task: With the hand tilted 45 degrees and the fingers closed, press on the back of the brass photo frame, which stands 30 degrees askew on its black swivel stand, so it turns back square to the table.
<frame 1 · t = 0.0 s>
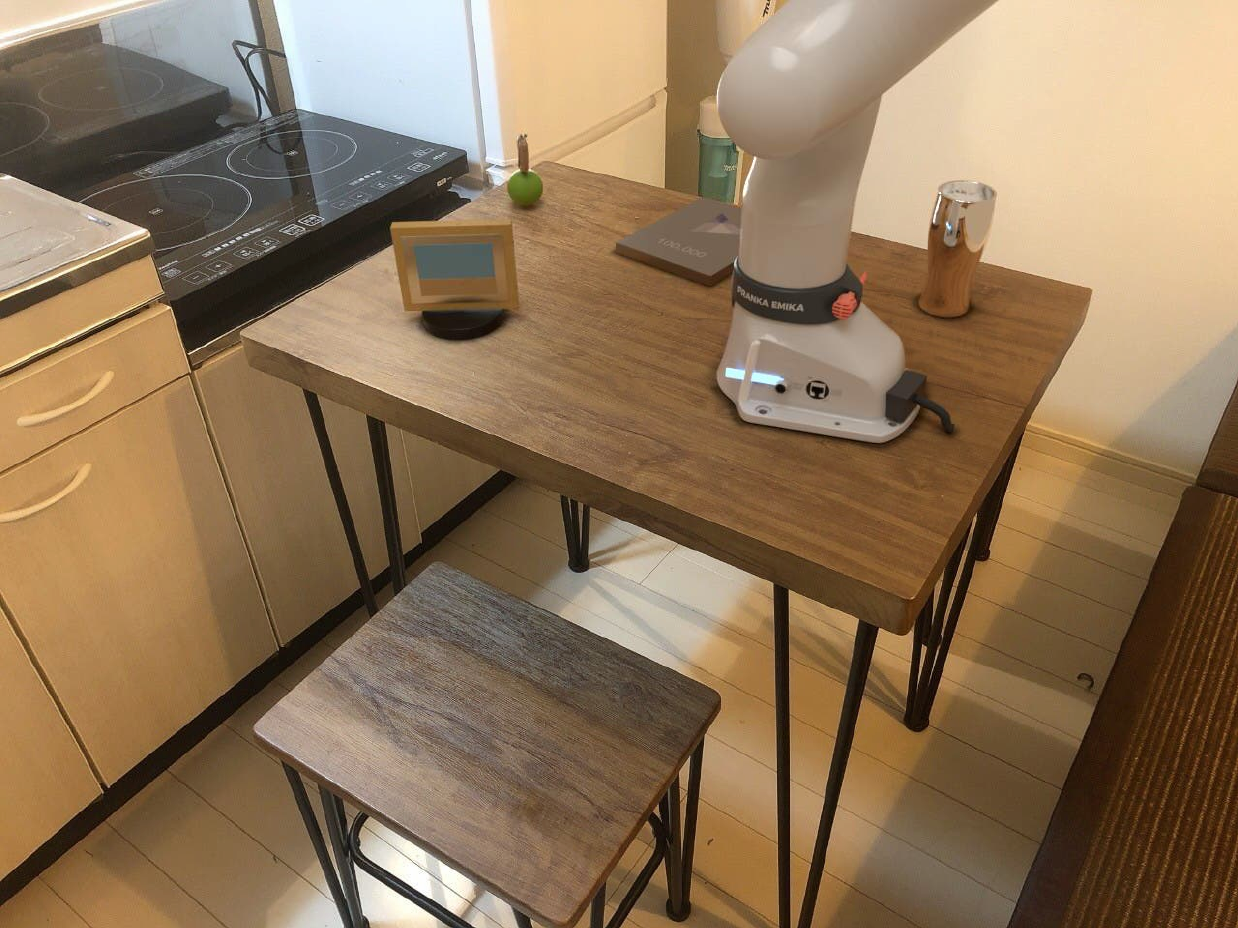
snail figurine: (527, 207, 148), on the table
picture frame: (456, 266, 116), point 7 cm above the table, hinge at 30.0°
frame stand: (463, 319, 121), on the table
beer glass: (942, 307, 121), on the table
play button award: (705, 245, 136), on the table
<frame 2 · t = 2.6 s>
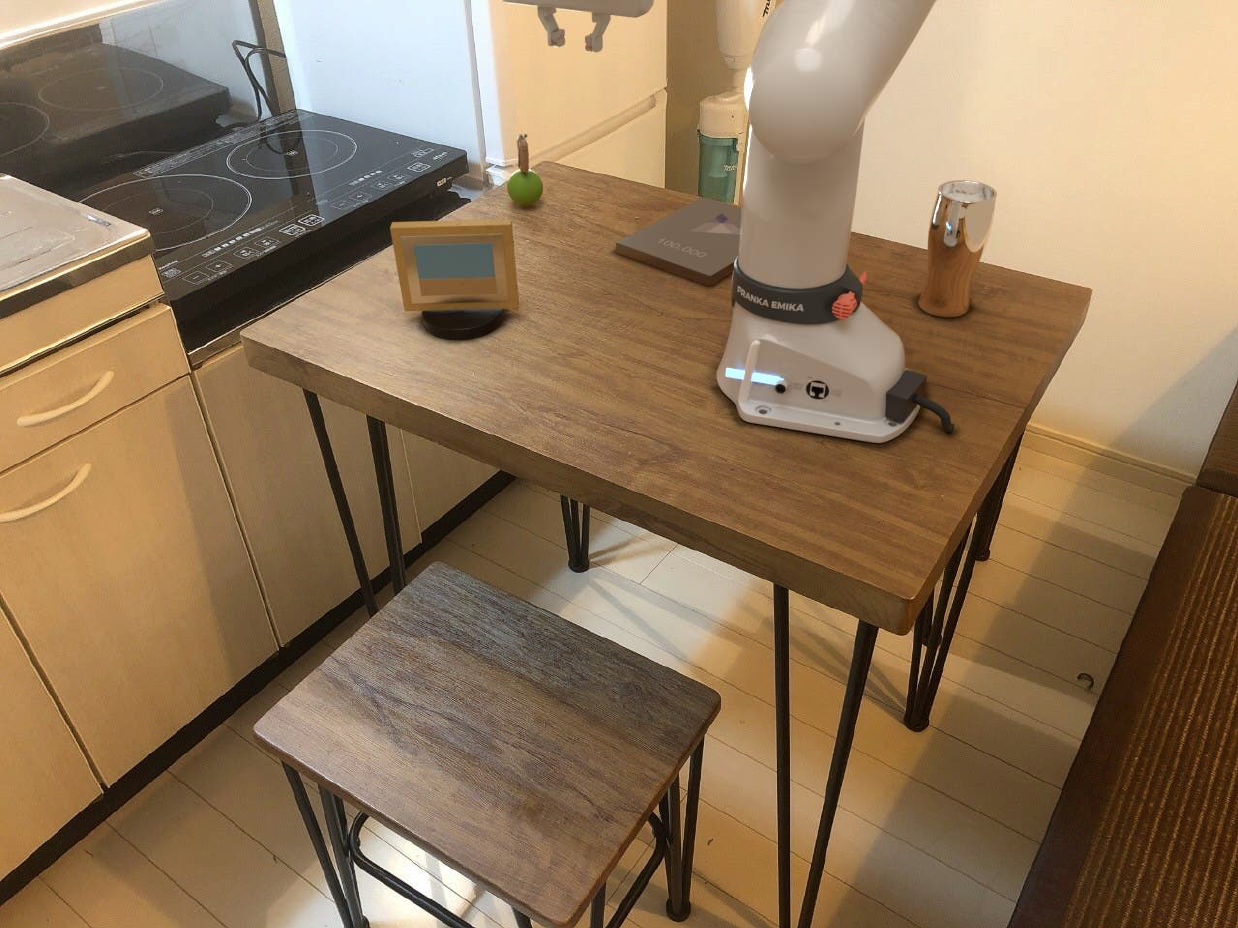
hand: (575, 48, 118), 27 cm above the table, tool pointing down, fingers open, 4 cm apart
nothing on the table moved.
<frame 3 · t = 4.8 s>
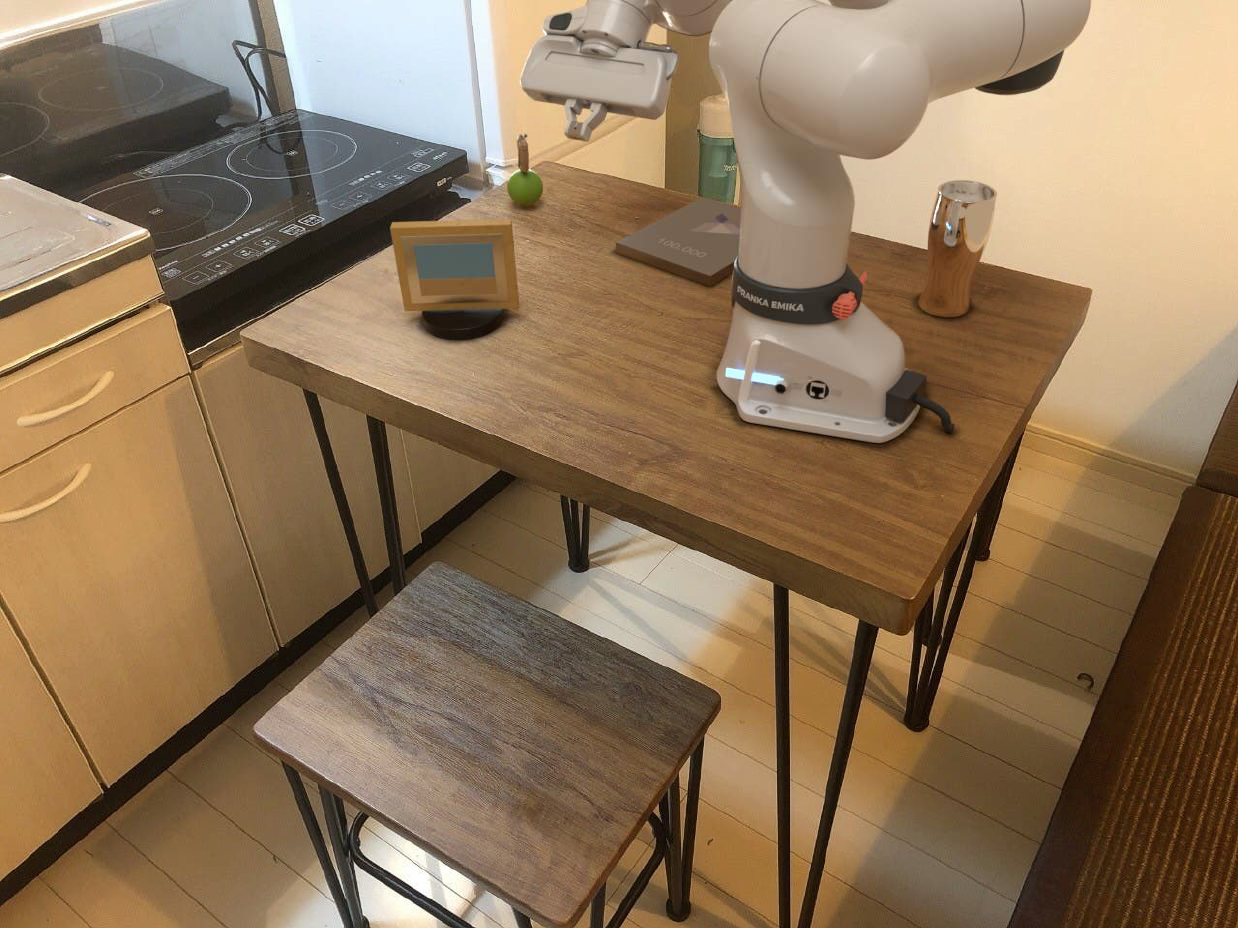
hand: (575, 138, 124), 16 cm above the table, tool tilted 45°, fingers closed
nothing on the table moved.
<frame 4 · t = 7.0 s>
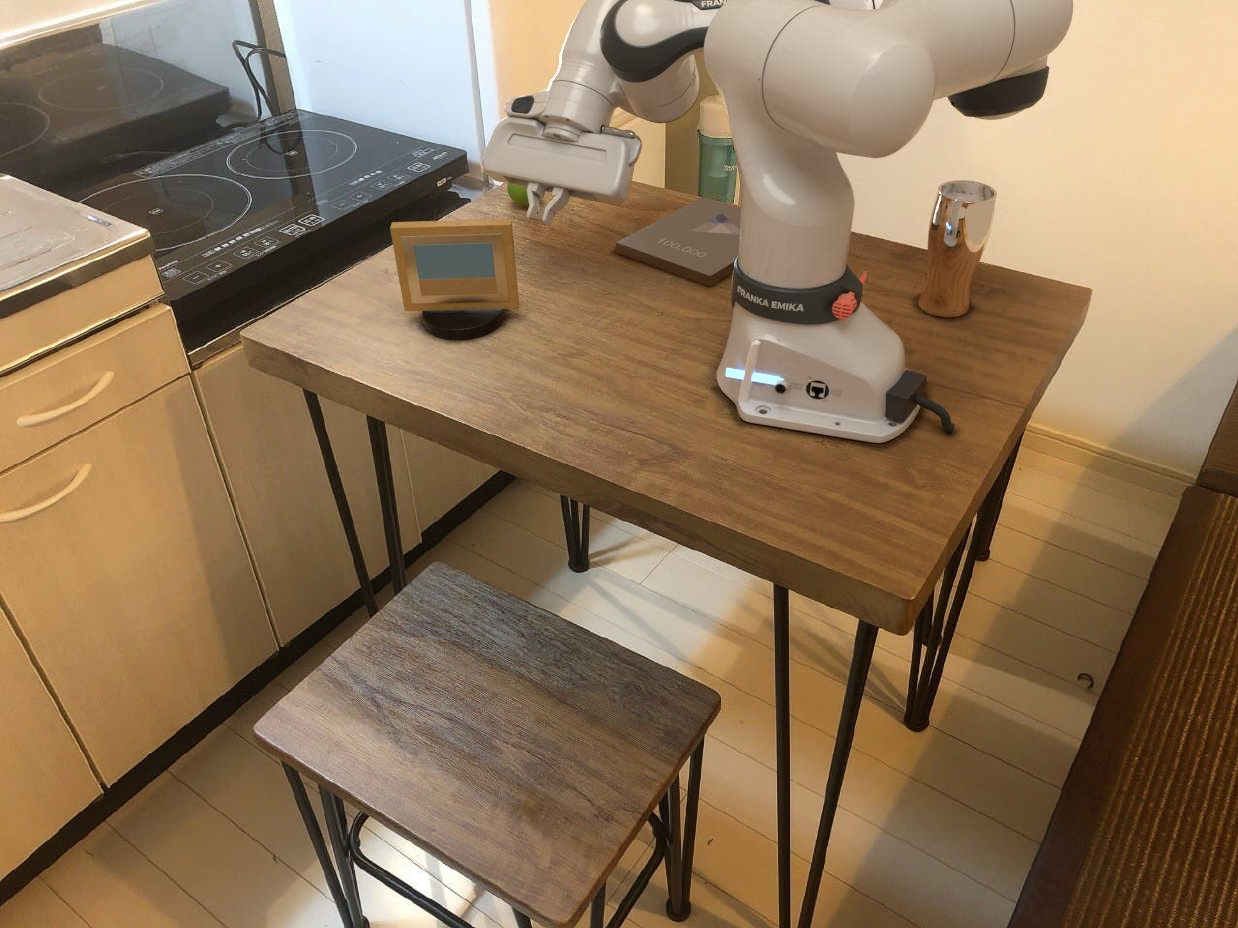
hand: (537, 222, 122), 9 cm above the table, tool tilted 45°, fingers closed
nothing on the table moved.
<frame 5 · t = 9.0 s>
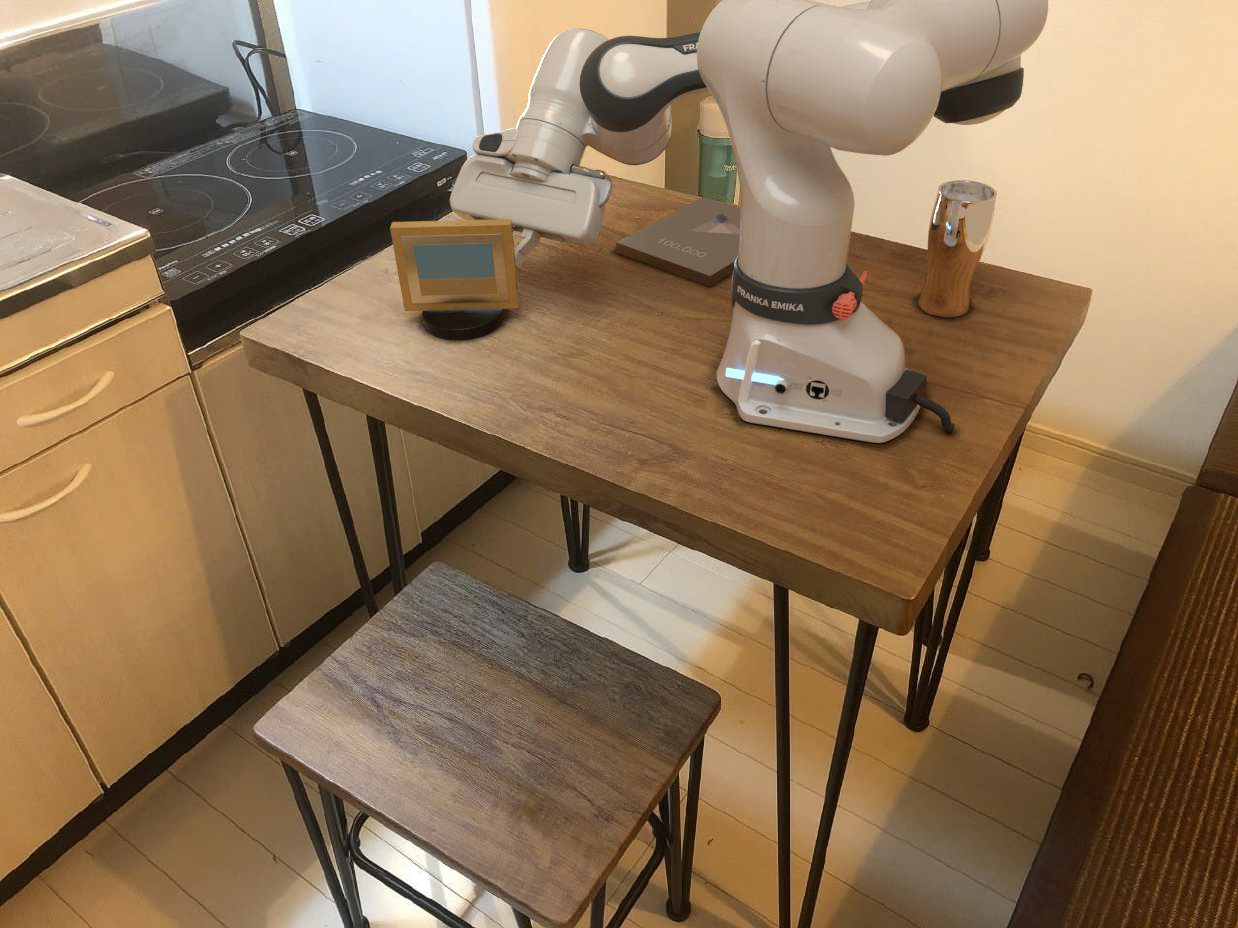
hand: (506, 264, 118), 6 cm above the table, tool tilted 45°, fingers closed
picture frame: (456, 266, 116), point 7 cm above the table, hinge at 29.7°, touching gripper
everything else where it was.
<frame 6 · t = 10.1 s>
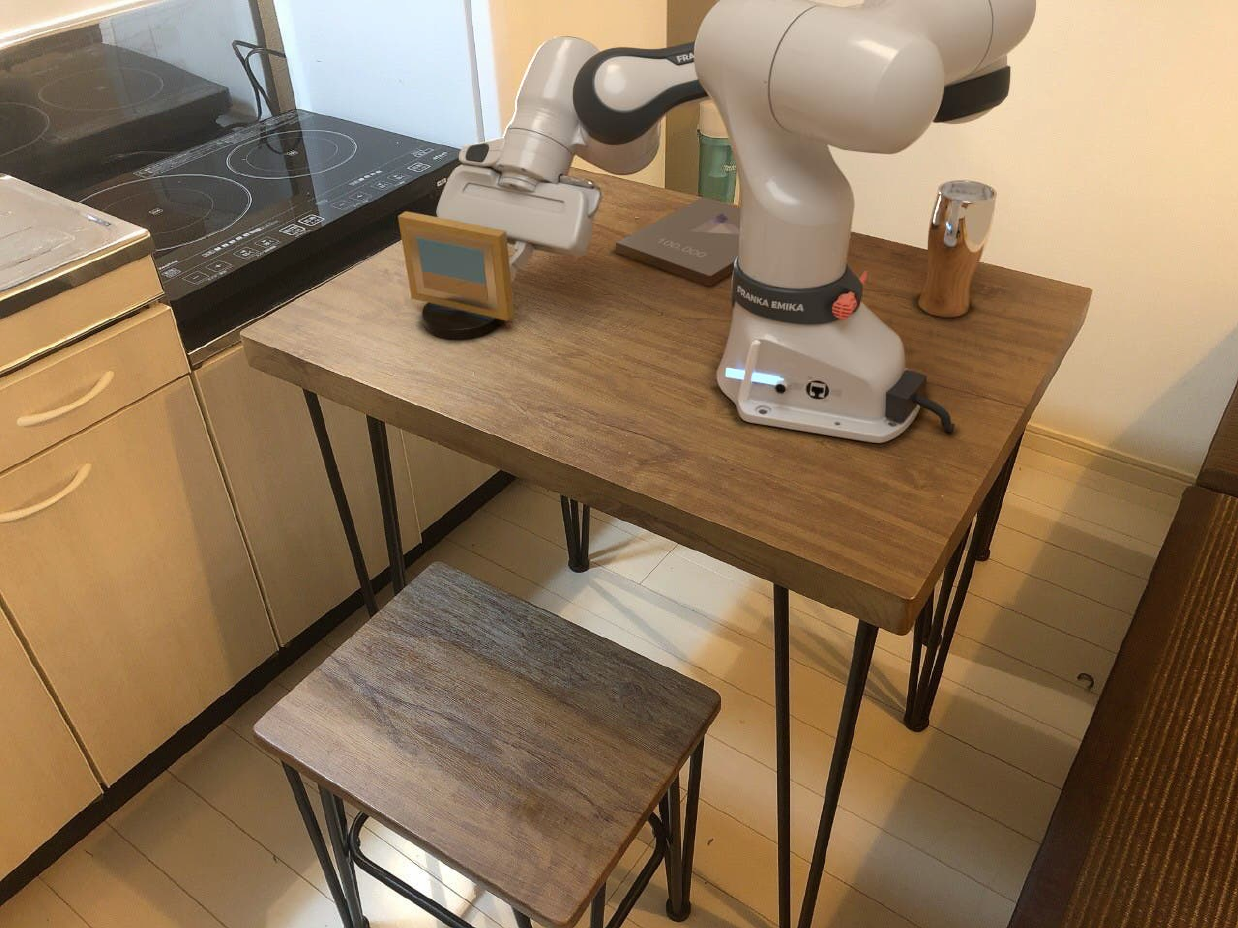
hand: (494, 276, 116), 6 cm above the table, tool tilted 45°, fingers closed, pressing on picture frame
picture frame: (456, 266, 116), point 7 cm above the table, hinge at 3.1°, touching gripper
everything else where it was.
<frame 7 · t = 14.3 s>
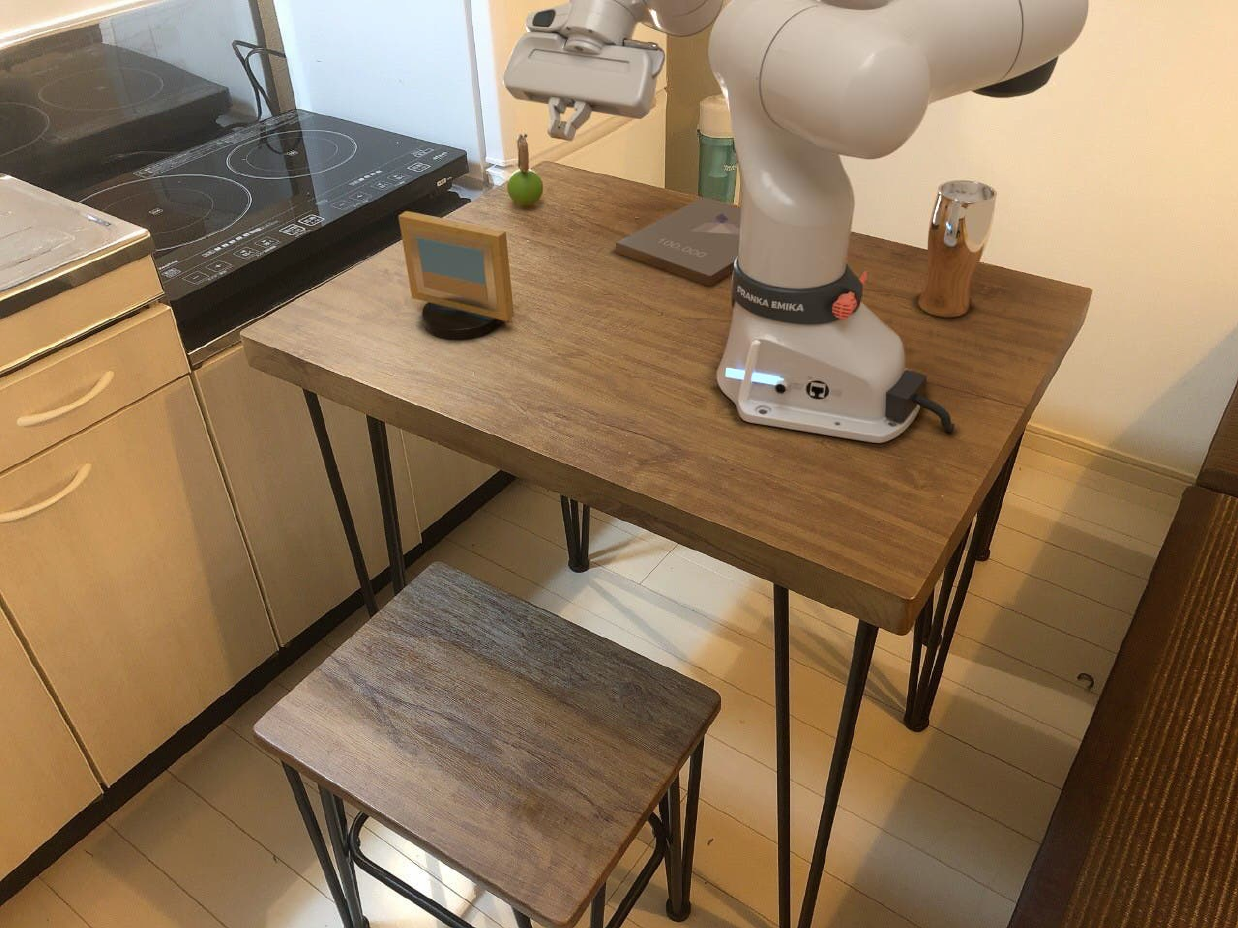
hand: (559, 137, 121), 18 cm above the table, tool tilted 45°, fingers closed
picture frame: (456, 266, 116), point 7 cm above the table, hinge at 2.3°
everything else where it was.
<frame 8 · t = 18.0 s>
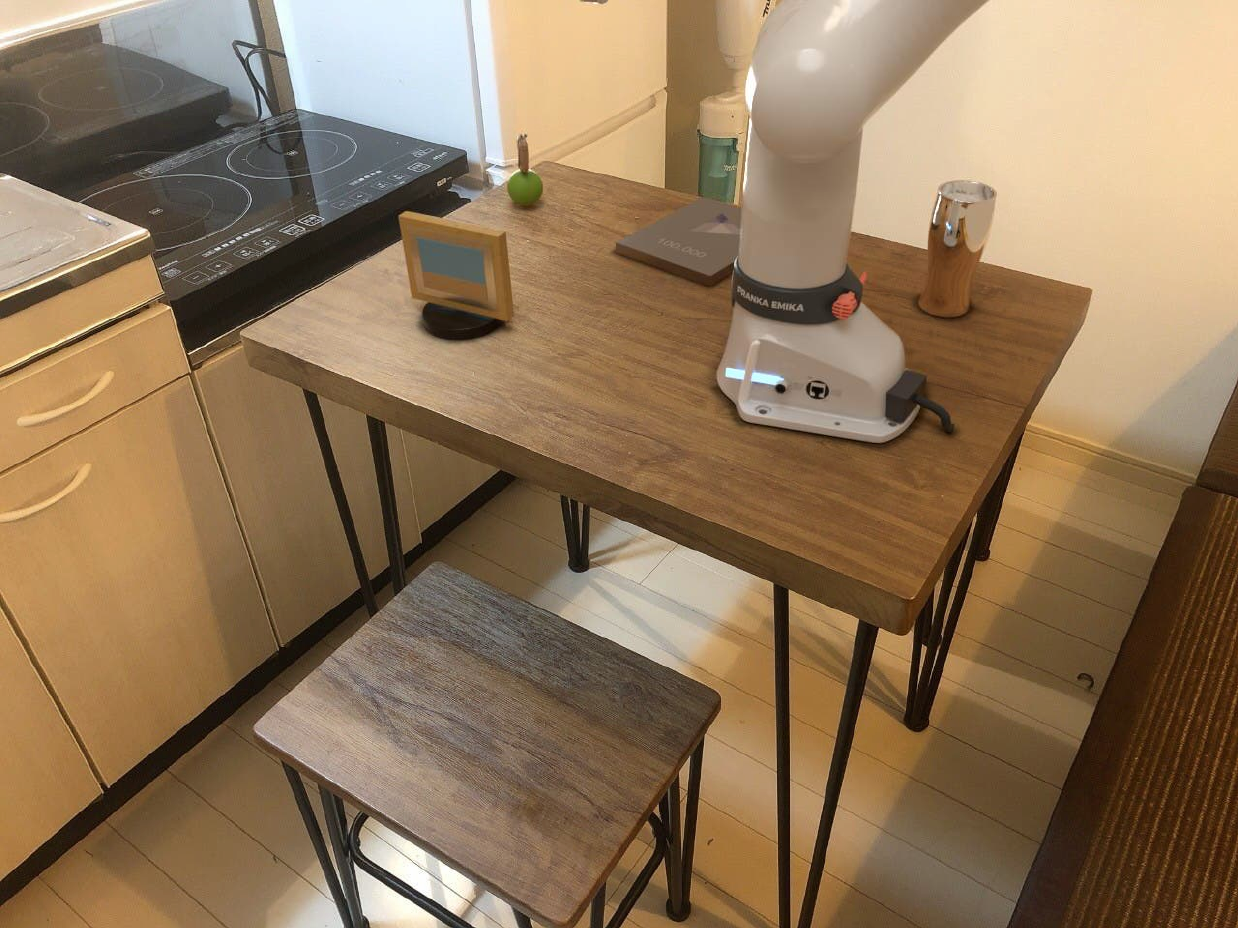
hand: (594, 2, 112), 33 cm above the table, tool pointing down, fingers closed
nothing on the table moved.
at the end: picture frame at +2° (first picture: +30°) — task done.
